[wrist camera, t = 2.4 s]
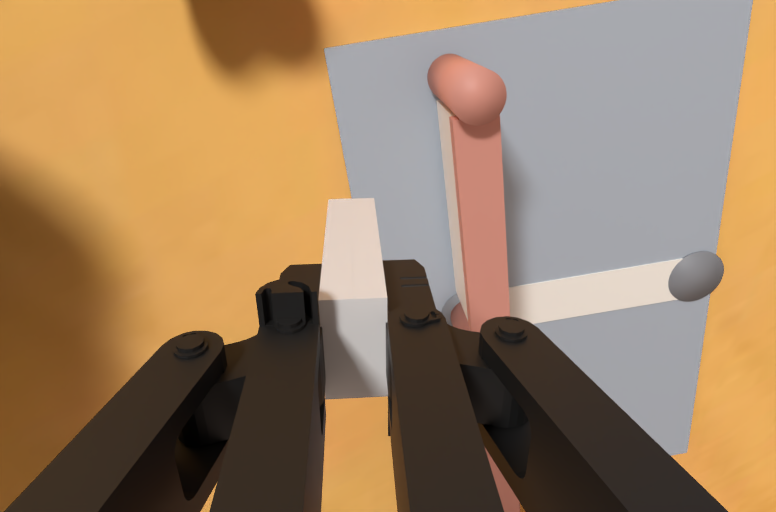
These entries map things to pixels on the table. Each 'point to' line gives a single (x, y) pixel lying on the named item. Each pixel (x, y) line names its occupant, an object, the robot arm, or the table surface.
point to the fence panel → (473, 183)
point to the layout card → (573, 178)
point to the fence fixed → (504, 490)
